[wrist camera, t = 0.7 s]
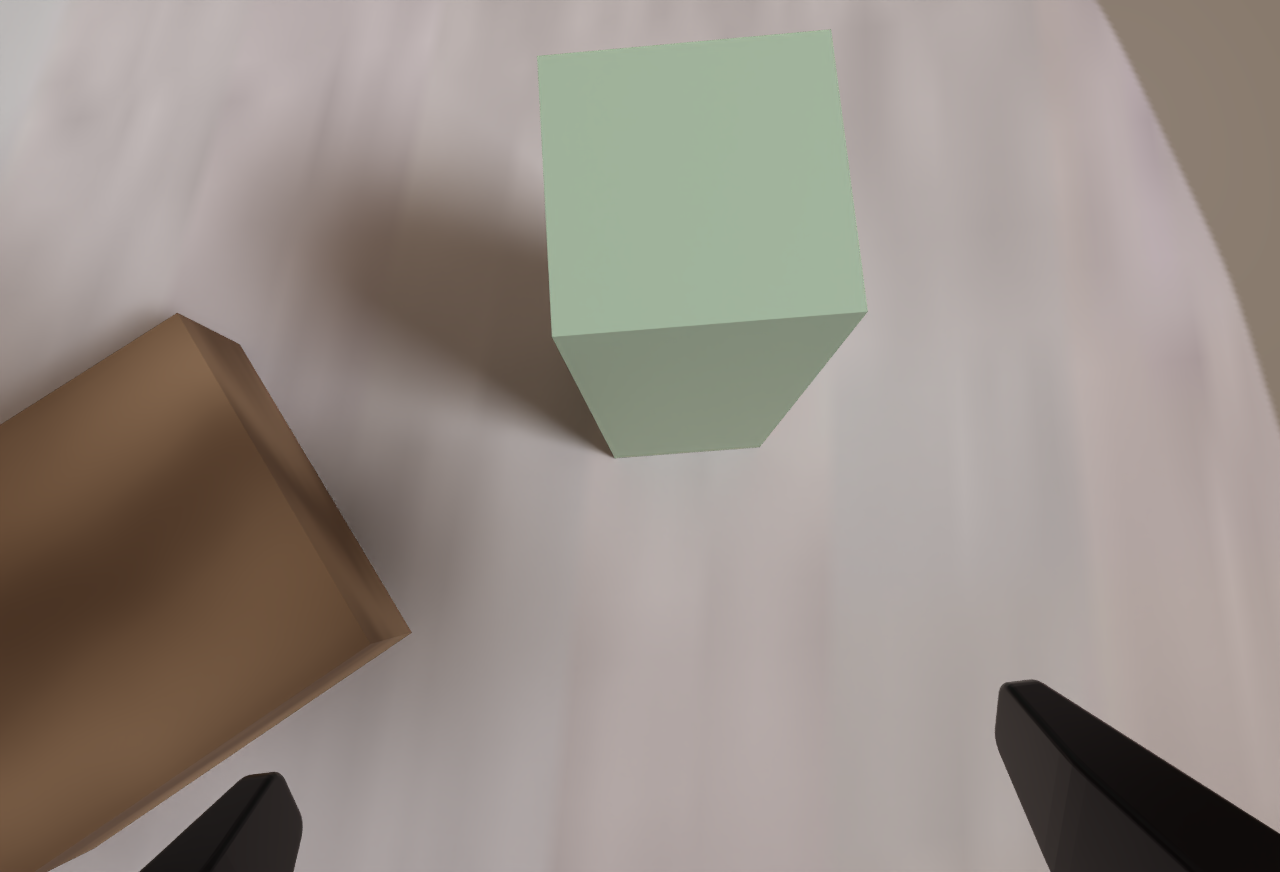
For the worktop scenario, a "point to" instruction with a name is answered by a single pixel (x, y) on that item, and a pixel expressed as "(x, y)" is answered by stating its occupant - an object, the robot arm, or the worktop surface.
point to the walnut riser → (160, 588)
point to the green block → (698, 234)
